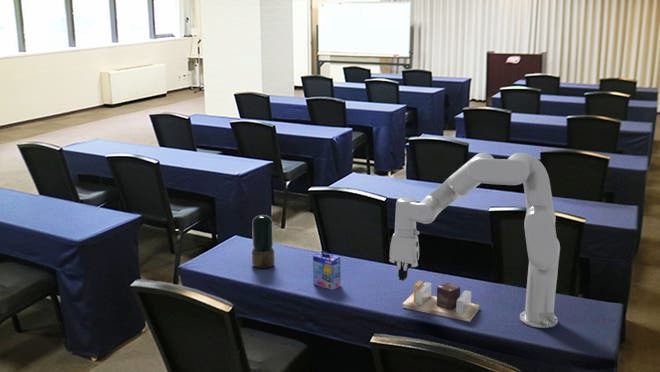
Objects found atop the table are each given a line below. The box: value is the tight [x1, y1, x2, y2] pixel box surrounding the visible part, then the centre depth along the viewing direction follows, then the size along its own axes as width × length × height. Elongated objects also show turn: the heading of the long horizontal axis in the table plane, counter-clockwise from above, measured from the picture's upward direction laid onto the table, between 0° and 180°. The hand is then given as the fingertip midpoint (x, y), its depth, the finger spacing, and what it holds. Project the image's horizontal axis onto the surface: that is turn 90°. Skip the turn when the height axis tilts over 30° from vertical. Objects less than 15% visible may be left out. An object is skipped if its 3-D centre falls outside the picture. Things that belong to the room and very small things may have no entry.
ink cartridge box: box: [312, 250, 342, 291], centre depth 262 cm, size 10×6×14 cm, turn 56°
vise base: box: [401, 292, 480, 322], centre depth 243 cm, size 25×12×2 cm, turn 63°
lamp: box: [251, 214, 276, 269], centre depth 281 cm, size 10×10×22 cm
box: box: [436, 282, 461, 310], centre depth 241 cm, size 6×6×7 cm
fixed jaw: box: [456, 290, 472, 315], centre depth 239 cm, size 2×10×5 cm, turn 153°
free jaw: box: [413, 280, 432, 306], centre depth 246 cm, size 4×10×6 cm, turn 153°
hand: (402, 279), depth 248 cm, fingers closed
